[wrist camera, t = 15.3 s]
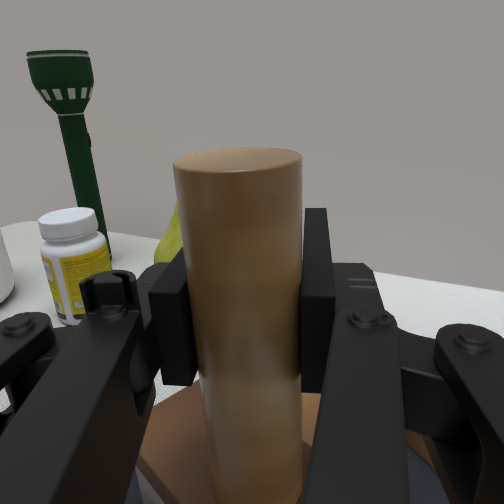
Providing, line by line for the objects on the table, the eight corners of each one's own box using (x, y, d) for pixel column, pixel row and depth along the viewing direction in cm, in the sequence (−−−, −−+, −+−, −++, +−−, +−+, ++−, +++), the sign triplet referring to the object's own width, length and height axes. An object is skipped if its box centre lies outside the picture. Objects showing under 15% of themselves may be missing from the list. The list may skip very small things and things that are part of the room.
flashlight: (131, 265, 42) (92, 49, 34) (78, 277, 40) (24, 50, 32) (121, 249, 46) (85, 53, 38) (73, 259, 44) (25, 55, 36)
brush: (136, 503, 17) (53, 151, 11) (220, 441, 19) (187, 132, 14) (348, 811, 9) (412, 244, 4) (436, 645, 12) (549, 167, 7)
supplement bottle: (130, 300, 35) (112, 206, 32) (98, 330, 31) (74, 226, 28) (82, 295, 36) (61, 204, 33) (45, 324, 32) (16, 223, 29)
